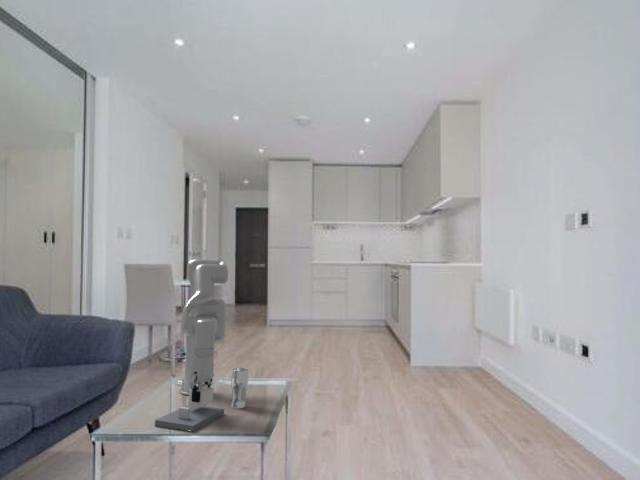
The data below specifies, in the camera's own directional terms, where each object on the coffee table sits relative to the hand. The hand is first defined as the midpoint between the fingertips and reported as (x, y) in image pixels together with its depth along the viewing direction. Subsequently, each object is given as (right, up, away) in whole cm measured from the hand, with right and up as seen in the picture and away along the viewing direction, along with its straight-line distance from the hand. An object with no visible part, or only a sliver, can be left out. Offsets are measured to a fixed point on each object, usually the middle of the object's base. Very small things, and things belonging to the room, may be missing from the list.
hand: (200, 398), depth 172 cm
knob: (0, -2, 0) cm, 2 cm away
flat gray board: (-2, -5, -7) cm, 9 cm away
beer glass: (+12, -8, +12) cm, 19 cm away
